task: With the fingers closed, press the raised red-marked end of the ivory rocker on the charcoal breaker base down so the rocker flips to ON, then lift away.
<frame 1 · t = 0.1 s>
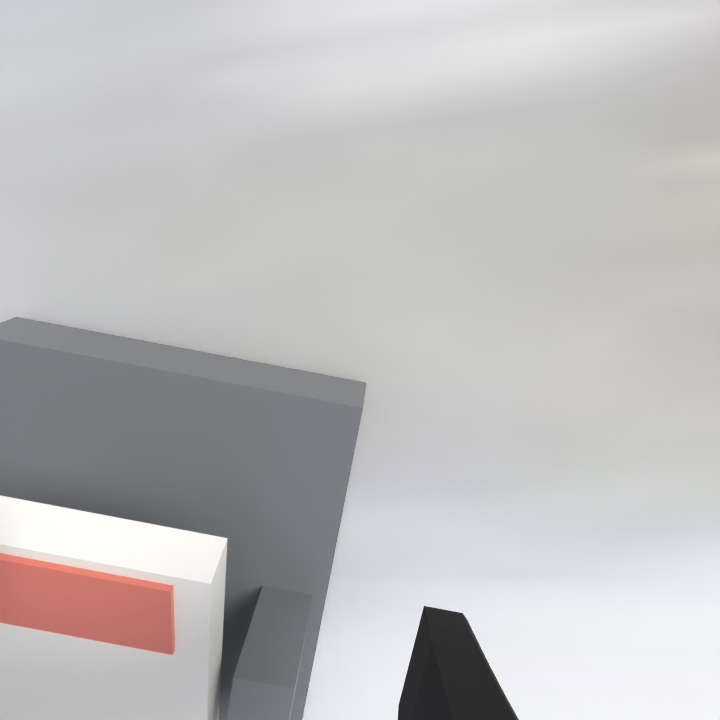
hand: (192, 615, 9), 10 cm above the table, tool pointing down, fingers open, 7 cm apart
rocker: (104, 683, 16), point 5 cm above the table, hinge at -15.0°
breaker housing: (171, 563, 21), on the table
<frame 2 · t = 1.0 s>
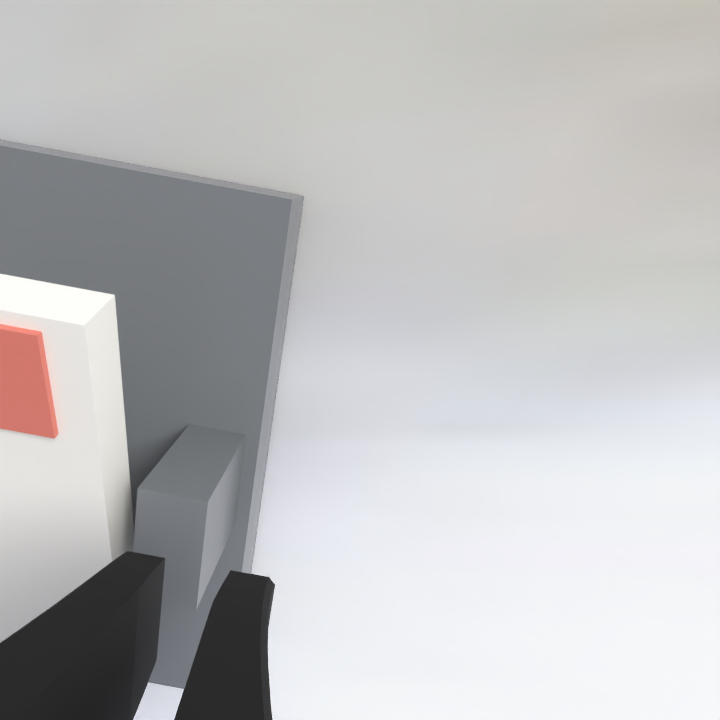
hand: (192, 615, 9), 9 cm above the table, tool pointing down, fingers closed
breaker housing: (98, 420, 19), on the table
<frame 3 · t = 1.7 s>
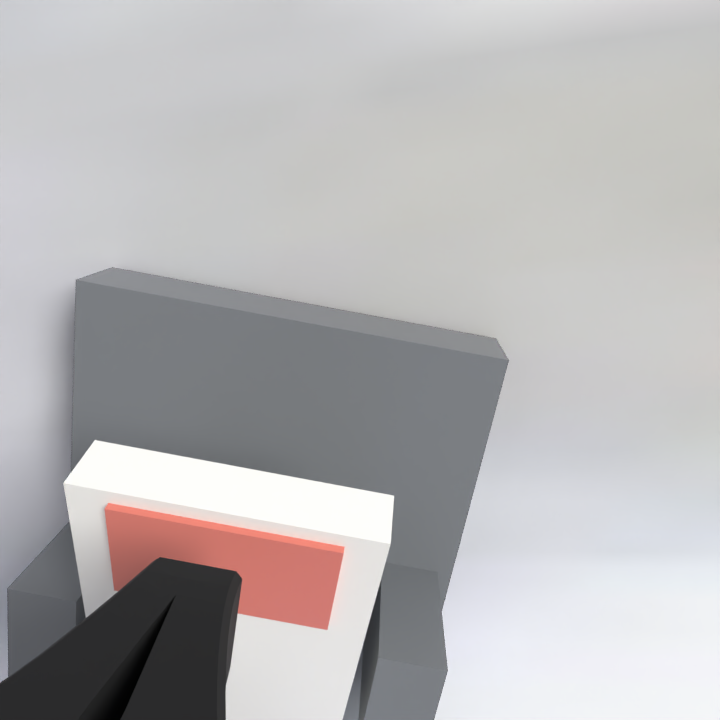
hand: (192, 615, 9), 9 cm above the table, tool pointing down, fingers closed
rocker: (225, 666, 14), point 5 cm above the table, hinge at -15.0°
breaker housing: (268, 541, 19), on the table
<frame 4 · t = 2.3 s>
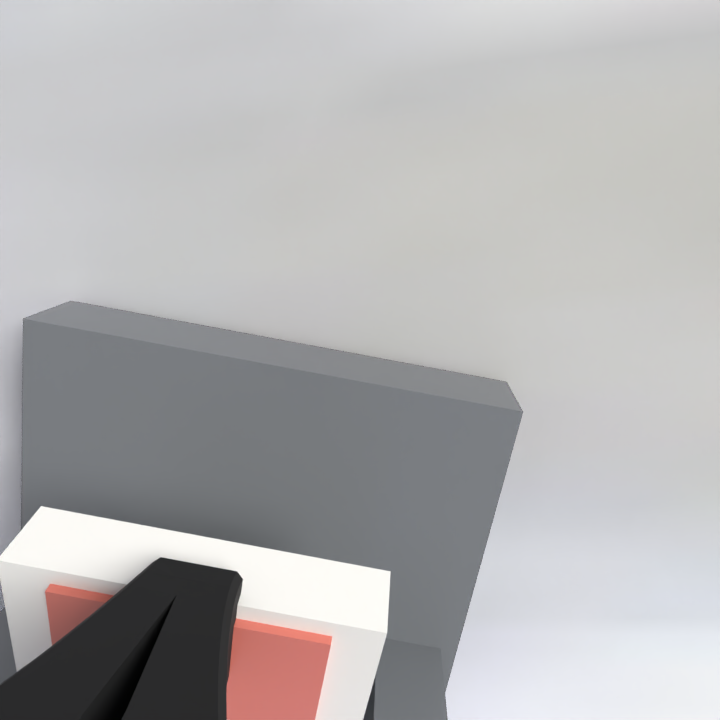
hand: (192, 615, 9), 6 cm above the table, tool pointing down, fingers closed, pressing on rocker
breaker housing: (249, 605, 17), on the table
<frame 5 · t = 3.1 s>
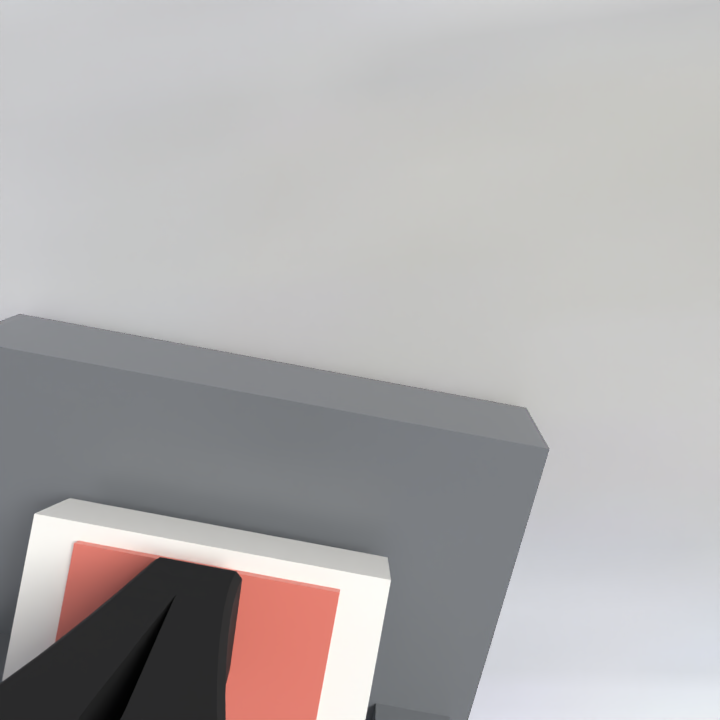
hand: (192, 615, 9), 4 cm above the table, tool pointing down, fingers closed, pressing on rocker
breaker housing: (232, 656, 15), on the table
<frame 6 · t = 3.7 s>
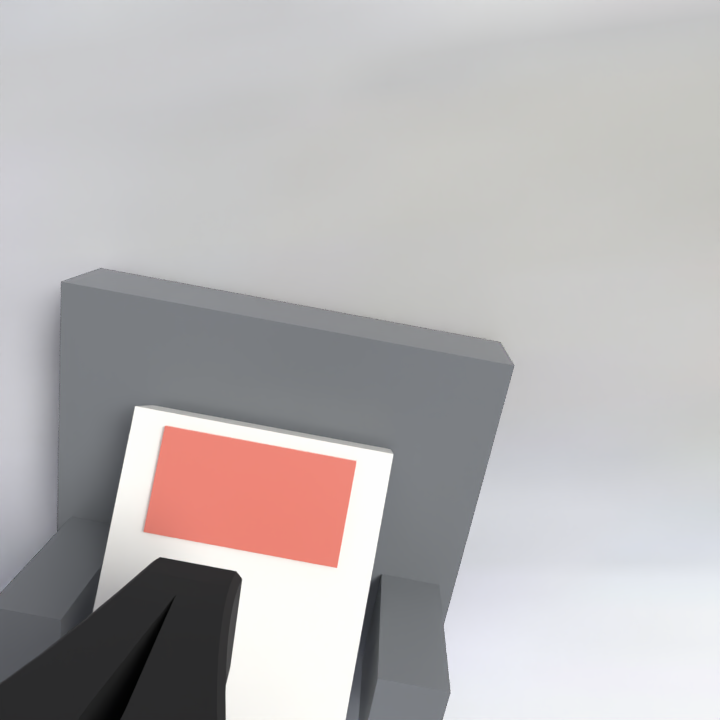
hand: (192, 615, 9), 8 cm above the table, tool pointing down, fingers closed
rocker: (218, 684, 14), point 5 cm above the table, hinge at 21.4°
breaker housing: (264, 551, 19), on the table
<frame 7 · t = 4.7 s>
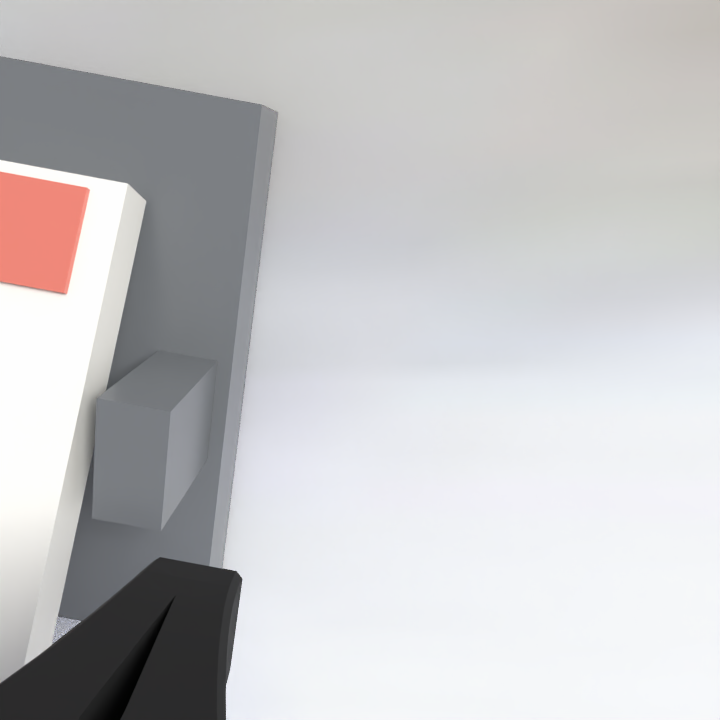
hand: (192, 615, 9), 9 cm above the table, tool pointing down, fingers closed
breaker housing: (68, 356, 18), on the table
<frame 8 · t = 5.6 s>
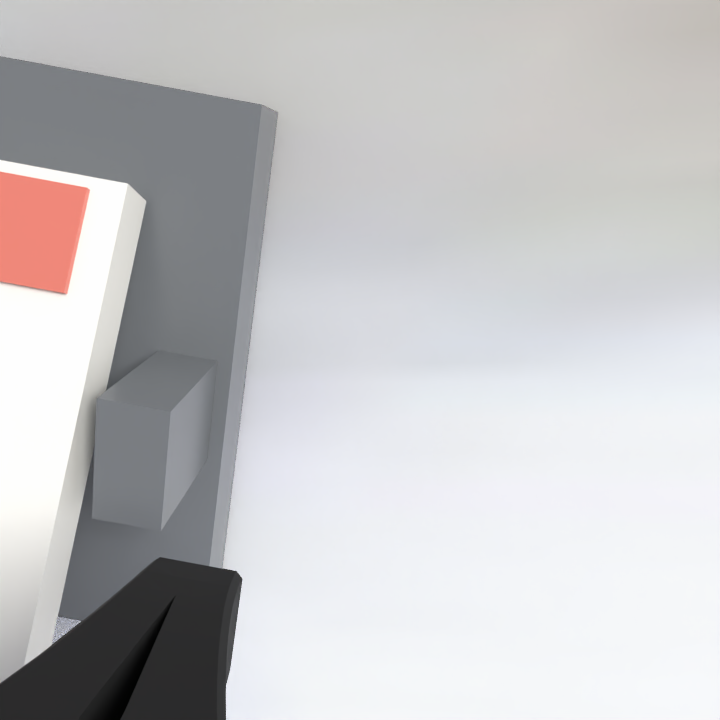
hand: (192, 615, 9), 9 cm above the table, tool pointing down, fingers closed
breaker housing: (68, 356, 18), on the table
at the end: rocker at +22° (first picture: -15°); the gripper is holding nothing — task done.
